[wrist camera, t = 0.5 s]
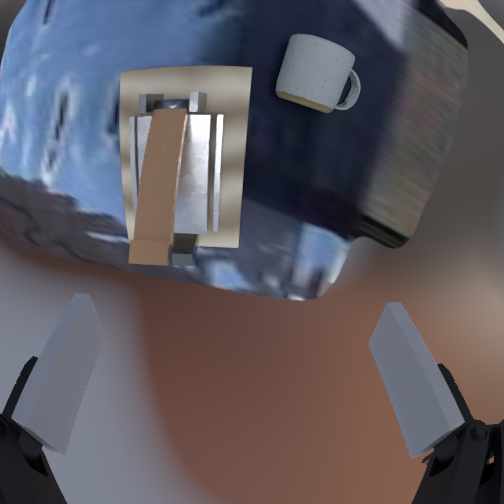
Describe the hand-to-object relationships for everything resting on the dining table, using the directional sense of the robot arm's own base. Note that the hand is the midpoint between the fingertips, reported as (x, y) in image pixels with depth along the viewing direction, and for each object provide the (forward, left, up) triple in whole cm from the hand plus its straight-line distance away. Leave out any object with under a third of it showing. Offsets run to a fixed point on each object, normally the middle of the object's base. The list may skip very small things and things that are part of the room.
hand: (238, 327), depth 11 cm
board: (-1, -7, -28) cm, 29 cm away
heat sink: (0, -7, -26) cm, 27 cm away
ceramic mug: (-13, +9, -28) cm, 32 cm away
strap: (-1, -7, -17) cm, 19 cm away
